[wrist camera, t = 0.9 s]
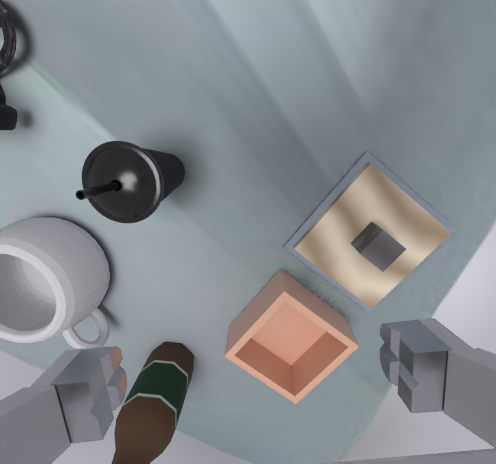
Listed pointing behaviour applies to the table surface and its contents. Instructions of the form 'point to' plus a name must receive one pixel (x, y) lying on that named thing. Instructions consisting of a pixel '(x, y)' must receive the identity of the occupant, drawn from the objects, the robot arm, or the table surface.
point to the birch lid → (371, 236)
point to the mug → (50, 281)
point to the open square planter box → (289, 338)
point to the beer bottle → (153, 405)
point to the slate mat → (332, 196)
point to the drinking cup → (128, 180)
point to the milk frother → (6, 115)
